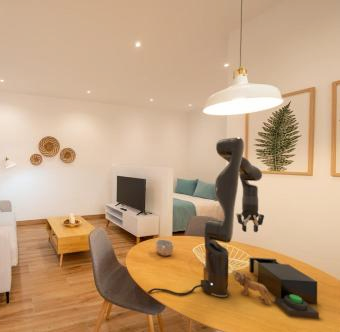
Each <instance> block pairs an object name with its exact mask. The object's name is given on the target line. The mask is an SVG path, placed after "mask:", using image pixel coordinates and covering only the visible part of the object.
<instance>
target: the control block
mask: <svg viewBox="0 0 340 332" xmlns="http://www.w3.org/2000/svg"><path fill="white" fill-rule="evenodd" d="M274 303H275V304H276V305H277V307H279V308H280V309H281V310H282V311H283V312H284V313H285V314H286V315H288V316H289V317H296V318H297V317H298V318H307V319H308V318H309V319H319V318H320V312H318V311H317V310H316V309H314V308H313V306H311V305H310V304H307V302H305V301H304V300H302V304H298V303H294V302H292V301H291V300H290V296H289V295H287V296H285V298H276V297H274Z"/></svg>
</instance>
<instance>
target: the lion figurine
mask: <svg viewBox="0 0 340 332" xmlns="http://www.w3.org/2000/svg"><path fill="white" fill-rule="evenodd" d="M234 279H235V281H236V282H237V283H239V285H240V286H241V287H243V289H244V292H242V294H243V295H248V293H249V289H250V290H252V291H254V292H258V293H259V294H260V299H261V300H265V301H264V304H265V305H269V304H270V303H272V304H274V305H275V304H276V303H275V301H273V300H272V299H271V296H270V292H269V291H268V290H267V289H266V287H265V286H264V285H262V284H260V283H259V282H256V281H253V280H252V279H251V277H249V276H248V275H246V274H245V273H244V272H243V271H239V270H237V271H235V272H234ZM266 294H267V295H266Z"/></svg>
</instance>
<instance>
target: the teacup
mask: <svg viewBox="0 0 340 332" xmlns="http://www.w3.org/2000/svg"><path fill="white" fill-rule="evenodd" d="M155 243H156V244H155V250H156V252H157V253H158V254H159V255H161V256H164V257H169V256H170V255H172V254H173V253H174V245H175V244H174V242H173V241H171V240H168V239H161V238H159V239H156V241H155Z"/></svg>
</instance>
